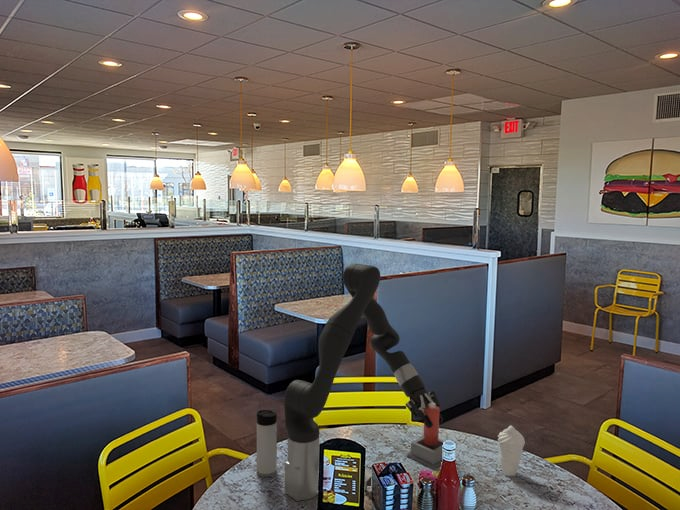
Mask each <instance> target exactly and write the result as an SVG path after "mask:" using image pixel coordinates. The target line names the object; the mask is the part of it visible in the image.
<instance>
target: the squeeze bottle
mask: <svg viewBox="0 0 680 510" xmlns="http://www.w3.org/2000/svg"><path fill="white" fill-rule="evenodd" d="M435 405H436V403H432V402H431V403H430V402H429V404H428V405H427V406H425V407H426V408H425V411H426V414H427V415H428V417H429V418H430V420H431V422H432V423H433V426H432V427H430V428H428V427H427V426H426V425H425V423H424V422H423V436H422V437H423V442H424V443H425V444H426V445H430V446H434V445H437V444H438V439H439V437H440V436H439V432H440V430H439V429H440V423H439V413H440V408H441V407H437V406H435ZM427 415H426V416H427Z"/></svg>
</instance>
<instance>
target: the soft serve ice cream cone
mask: <svg viewBox="0 0 680 510" xmlns="http://www.w3.org/2000/svg"><path fill="white" fill-rule="evenodd" d="M497 438H498V439H497V441H498V448H499V454H498V455H499V456H498V457H499V458H500V466H501V472H502V474H503V475H505V476H508V477H515V476H516V475H517V473H518V469H519V466H520V462H521V461H522V453H523V452H522V451H523V449H524V447H525V443H526V441H525V440H526V439H525V437H524V436H523V435H522V434H521V433H520V432H519V431H518V430H517V429H516V428H515V427H514V426H513V425H509V426H508V427H507V428H505V429H503V430H502V431H500V432H499V434H498V435H497Z"/></svg>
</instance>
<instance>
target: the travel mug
mask: <svg viewBox="0 0 680 510" xmlns="http://www.w3.org/2000/svg"><path fill="white" fill-rule="evenodd" d="M277 415H278V414H277V412H275V411H272V410H270V409H269V410H268V409H263V410H262V409H261V410H258V411H257V412H256V474H257V475H258V476H259V477H263V478H267V477H272V476H274V475H275V474H276V473H277V470H278V469H277V468H278V466H277V462H278V459H277V457H278V456H277V454H278V453H277V452H278V451H277V450H278V447H277V446H278V441H277V440H278V438H277V437H278V432H277V431H278V426H277V425H278V421H277V419H278V416H277Z"/></svg>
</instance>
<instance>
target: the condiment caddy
mask: <svg viewBox="0 0 680 510" xmlns="http://www.w3.org/2000/svg"><path fill="white" fill-rule="evenodd" d="M444 441H445V440H443V439H440V438H438V444H437V445H434V446H430V445H426V444H425V443H424V442H423V436H420V437H419V438H417V439H415V440H413V441H411V442H410V452H408V453H407V456H406V457H408V458H410V459H412V460H414V461H416V462H418V463H420V464H422V465H425V466H427V467H429V468H430V469H433V470H435V469H437V468H439V467H440V466H442V465H441V462H442V445H443V442H444Z"/></svg>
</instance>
